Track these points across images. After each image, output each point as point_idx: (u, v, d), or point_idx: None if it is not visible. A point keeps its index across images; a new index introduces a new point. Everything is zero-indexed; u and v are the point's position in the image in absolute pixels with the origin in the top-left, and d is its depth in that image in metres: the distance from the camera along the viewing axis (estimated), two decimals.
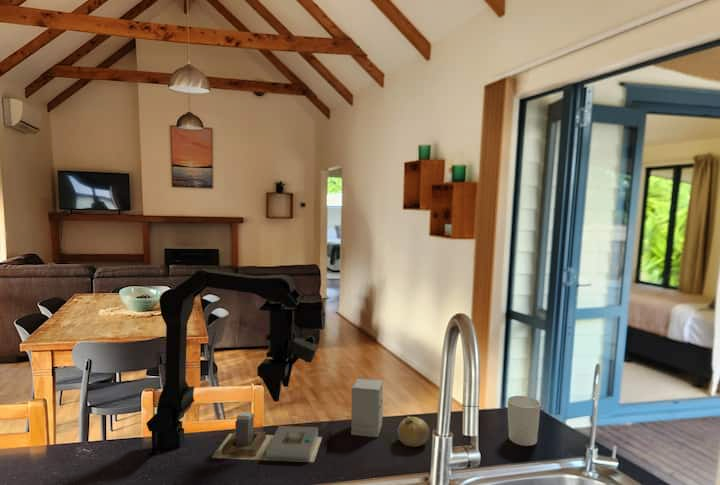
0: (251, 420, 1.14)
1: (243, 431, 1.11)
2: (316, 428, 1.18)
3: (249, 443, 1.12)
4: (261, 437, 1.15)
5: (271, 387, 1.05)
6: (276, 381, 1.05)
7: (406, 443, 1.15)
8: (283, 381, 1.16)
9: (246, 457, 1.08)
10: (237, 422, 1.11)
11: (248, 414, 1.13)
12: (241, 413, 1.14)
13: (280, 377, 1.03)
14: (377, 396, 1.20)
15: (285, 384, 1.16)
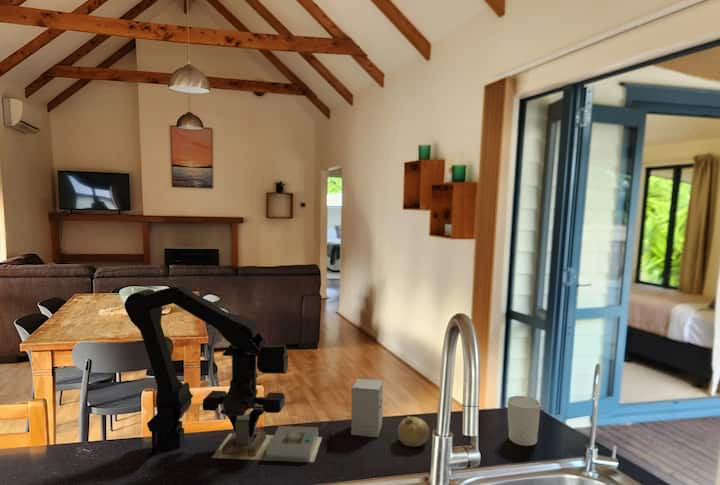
0: None
1: (243, 431, 1.11)
2: (316, 428, 1.18)
3: (249, 443, 1.12)
4: (261, 437, 1.15)
5: None
6: None
7: (406, 443, 1.15)
8: None
9: (246, 457, 1.08)
10: (237, 422, 1.11)
11: (248, 414, 1.13)
12: None
13: (221, 410, 1.12)
14: (377, 396, 1.20)
15: None
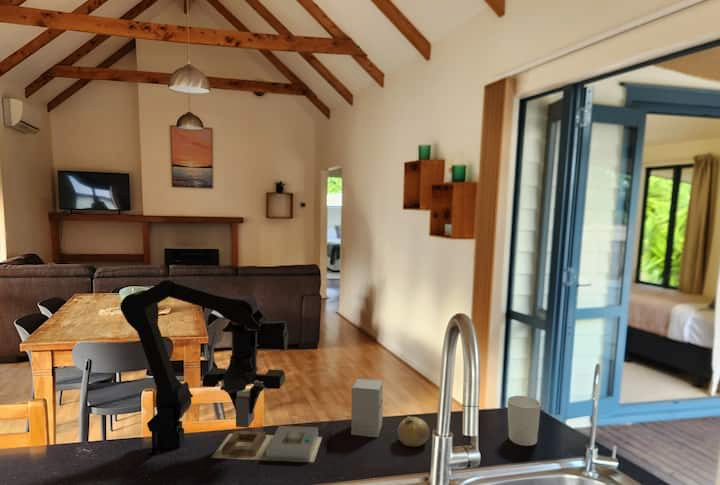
0: None
1: (243, 408, 1.11)
2: (316, 428, 1.18)
3: (249, 420, 1.12)
4: (261, 437, 1.15)
5: None
6: None
7: (406, 443, 1.15)
8: None
9: (246, 457, 1.08)
10: (237, 398, 1.11)
11: (248, 391, 1.13)
12: None
13: (221, 387, 1.11)
14: (377, 396, 1.20)
15: None
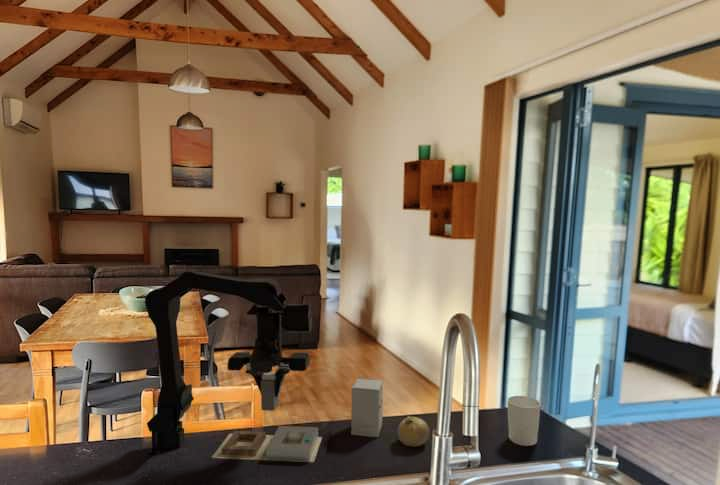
0: None
1: (269, 390, 1.10)
2: (316, 428, 1.18)
3: (275, 403, 1.11)
4: (261, 437, 1.15)
5: None
6: None
7: (406, 443, 1.15)
8: None
9: (246, 457, 1.08)
10: (262, 381, 1.10)
11: (273, 374, 1.12)
12: (265, 373, 1.13)
13: (246, 370, 1.11)
14: (377, 396, 1.20)
15: None
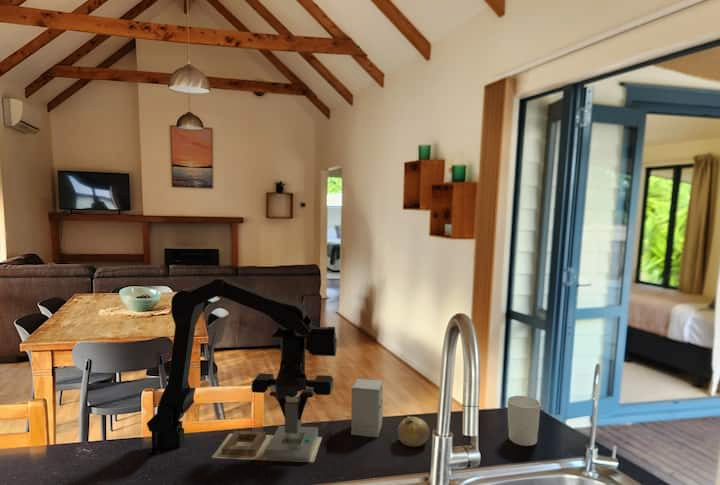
0: (299, 403, 1.13)
1: (292, 413, 1.10)
2: (316, 428, 1.18)
3: (298, 426, 1.11)
4: (261, 437, 1.15)
5: None
6: None
7: (406, 443, 1.15)
8: None
9: (246, 457, 1.08)
10: (286, 404, 1.10)
11: (297, 396, 1.12)
12: None
13: (270, 393, 1.11)
14: (377, 396, 1.20)
15: None
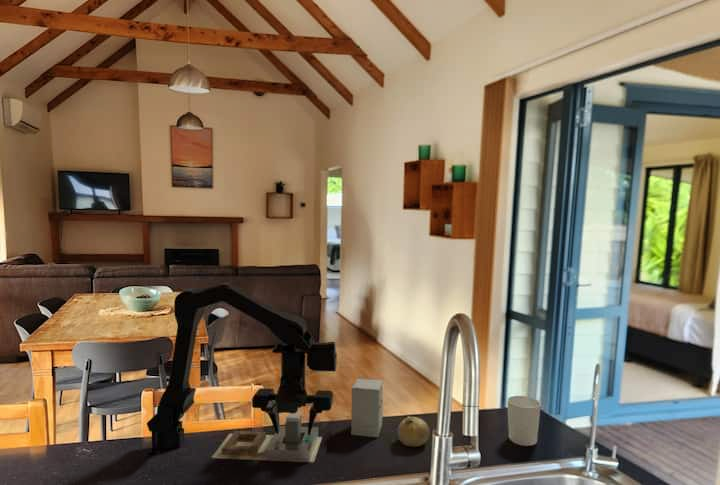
0: (300, 422, 1.13)
1: (293, 433, 1.10)
2: (316, 428, 1.18)
3: None
4: (261, 437, 1.15)
5: None
6: None
7: (406, 443, 1.15)
8: None
9: (246, 457, 1.08)
10: (287, 423, 1.10)
11: (297, 416, 1.12)
12: (289, 415, 1.13)
13: None
14: (377, 396, 1.20)
15: None
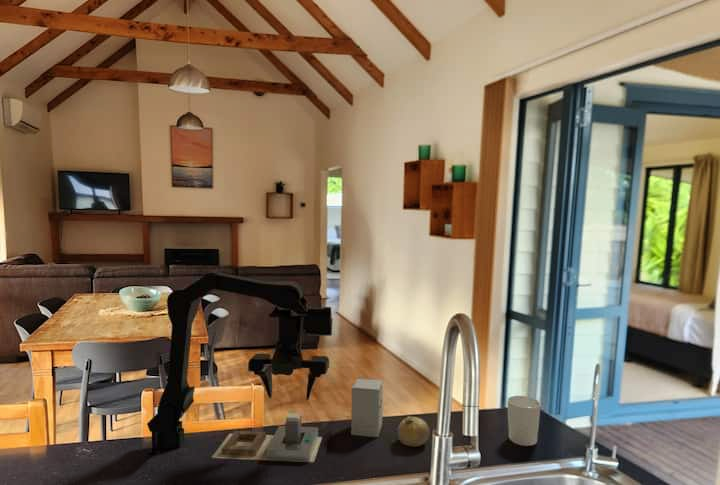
0: (300, 422, 1.13)
1: (293, 433, 1.10)
2: (316, 428, 1.18)
3: None
4: (261, 437, 1.15)
5: None
6: None
7: (406, 443, 1.15)
8: None
9: (246, 457, 1.08)
10: (287, 423, 1.10)
11: (297, 416, 1.12)
12: (289, 415, 1.13)
13: (254, 372, 1.12)
14: (377, 396, 1.20)
15: None
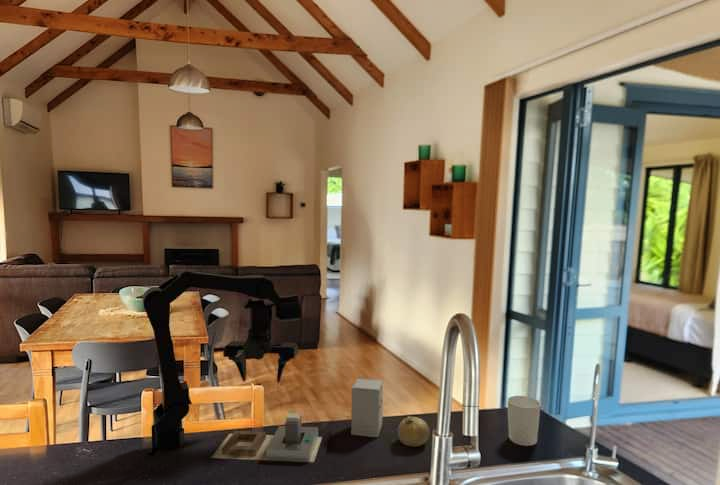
0: (300, 422, 1.13)
1: (293, 433, 1.10)
2: (316, 428, 1.18)
3: None
4: (261, 437, 1.15)
5: None
6: None
7: (406, 443, 1.15)
8: None
9: (246, 457, 1.08)
10: (287, 423, 1.10)
11: (297, 416, 1.12)
12: (289, 415, 1.13)
13: (229, 357, 1.22)
14: (377, 396, 1.20)
15: None
